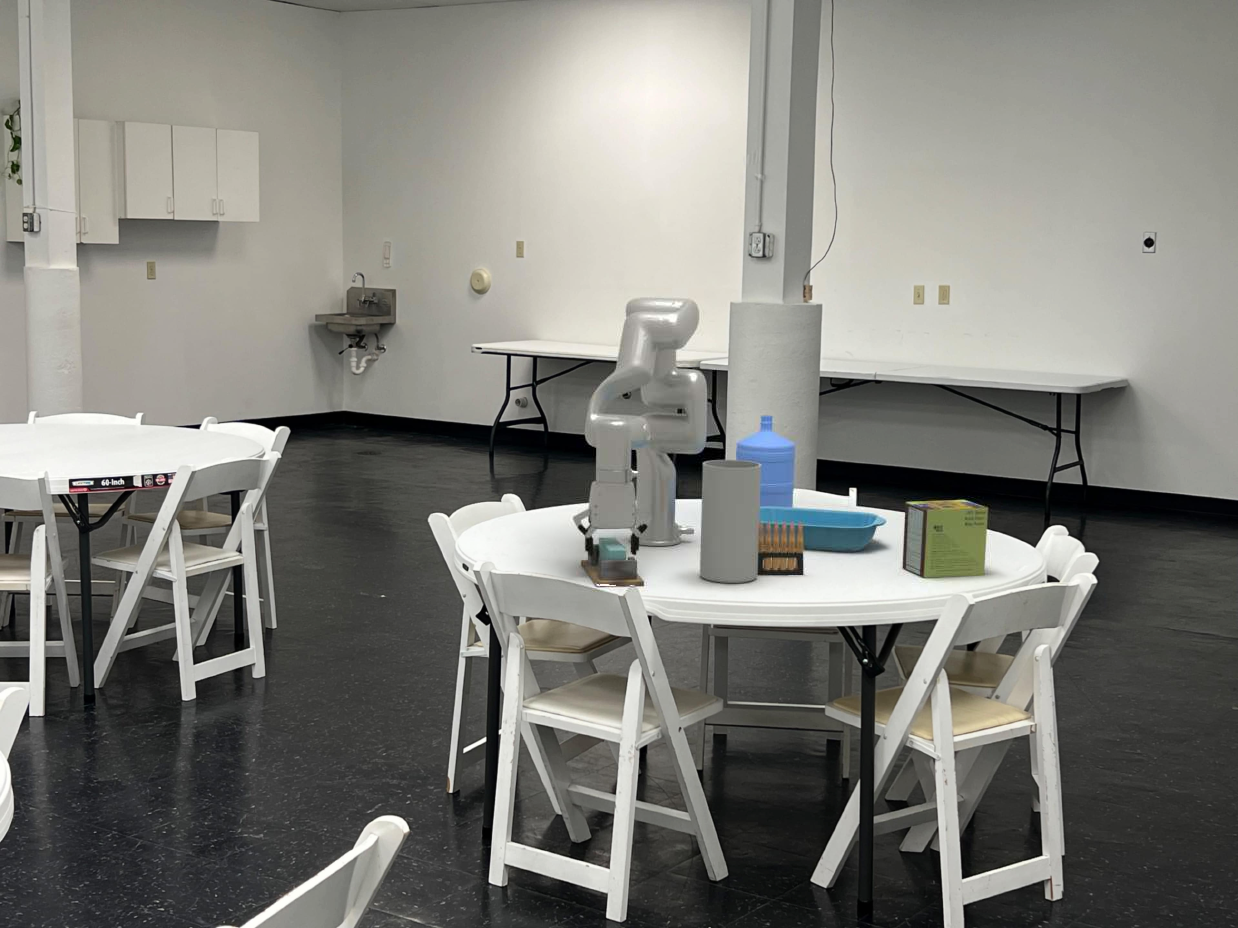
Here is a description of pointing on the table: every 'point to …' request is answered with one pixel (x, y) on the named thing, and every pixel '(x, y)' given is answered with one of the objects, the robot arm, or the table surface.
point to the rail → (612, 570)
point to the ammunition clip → (782, 559)
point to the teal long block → (611, 549)
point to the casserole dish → (824, 527)
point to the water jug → (771, 463)
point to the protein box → (945, 538)
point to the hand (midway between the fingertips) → (611, 554)
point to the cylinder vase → (730, 521)
